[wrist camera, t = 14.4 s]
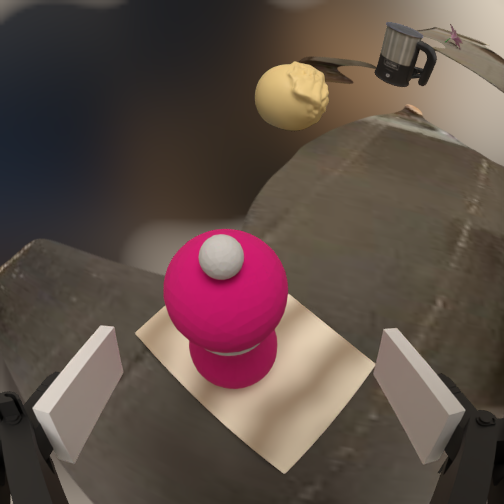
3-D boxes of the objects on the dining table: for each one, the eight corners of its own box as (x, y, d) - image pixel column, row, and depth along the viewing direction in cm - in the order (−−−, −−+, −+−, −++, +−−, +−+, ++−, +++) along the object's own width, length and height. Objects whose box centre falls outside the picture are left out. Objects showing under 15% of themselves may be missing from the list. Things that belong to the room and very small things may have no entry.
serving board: (368, 367, 30) (376, 364, 28) (281, 470, 25) (284, 474, 23) (231, 255, 37) (231, 246, 35) (140, 338, 31) (135, 333, 30)
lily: (458, 53, 92) (470, 41, 85) (439, 34, 91) (451, 22, 84) (454, 54, 100) (466, 43, 93) (436, 35, 100) (448, 24, 93)
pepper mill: (286, 344, 30) (347, 223, 12) (246, 407, 26) (250, 384, 9) (224, 307, 31) (202, 153, 14) (182, 365, 28) (90, 269, 11)
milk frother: (371, 78, 63) (385, 25, 50) (377, 59, 70) (388, 14, 57) (426, 100, 60) (445, 49, 47) (424, 77, 67) (438, 34, 55)
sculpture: (320, 146, 47) (333, 89, 38) (247, 132, 49) (248, 75, 39) (325, 109, 53) (335, 60, 44) (262, 98, 54) (265, 48, 45)
